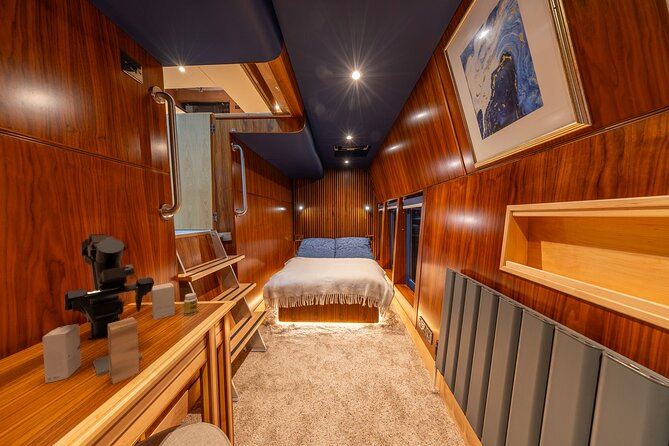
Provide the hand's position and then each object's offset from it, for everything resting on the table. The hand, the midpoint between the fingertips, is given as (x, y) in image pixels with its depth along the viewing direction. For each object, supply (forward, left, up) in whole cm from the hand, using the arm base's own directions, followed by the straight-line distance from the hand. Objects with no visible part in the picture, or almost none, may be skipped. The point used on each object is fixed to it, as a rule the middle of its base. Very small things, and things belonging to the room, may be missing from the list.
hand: (117, 316), depth 63 cm
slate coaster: (-1, +1, -13) cm, 13 cm away
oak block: (+5, -7, -13) cm, 16 cm away
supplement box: (-2, +33, -14) cm, 35 cm away
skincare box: (-11, -1, -14) cm, 18 cm away
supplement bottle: (+9, +30, -14) cm, 34 cm away
